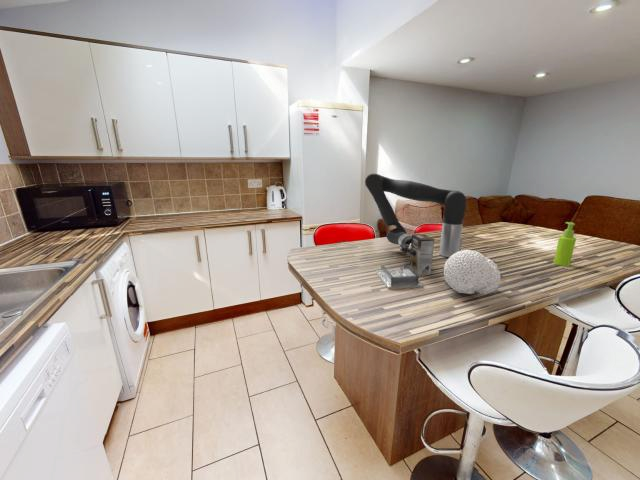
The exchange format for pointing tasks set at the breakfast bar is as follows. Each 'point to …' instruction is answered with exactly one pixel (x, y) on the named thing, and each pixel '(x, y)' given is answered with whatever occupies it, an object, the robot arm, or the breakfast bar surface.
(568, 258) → the soap dispenser
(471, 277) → the white coral
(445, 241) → the robot arm
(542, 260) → the breakfast bar surface
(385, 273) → the clip bracket
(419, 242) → the coffee box
